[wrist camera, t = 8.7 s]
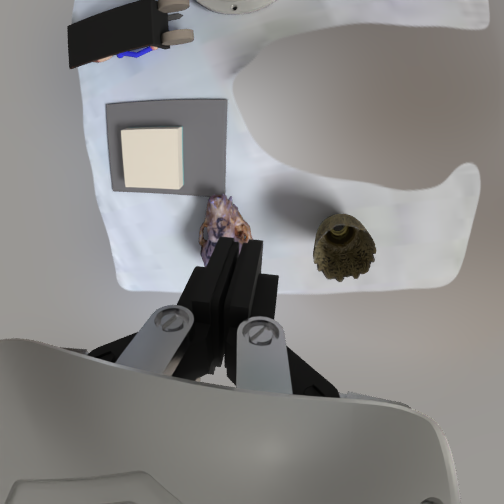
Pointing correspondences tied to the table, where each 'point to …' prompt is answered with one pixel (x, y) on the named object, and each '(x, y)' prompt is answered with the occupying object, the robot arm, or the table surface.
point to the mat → (194, 141)
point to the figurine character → (126, 31)
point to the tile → (153, 157)
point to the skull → (222, 225)
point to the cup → (343, 248)
